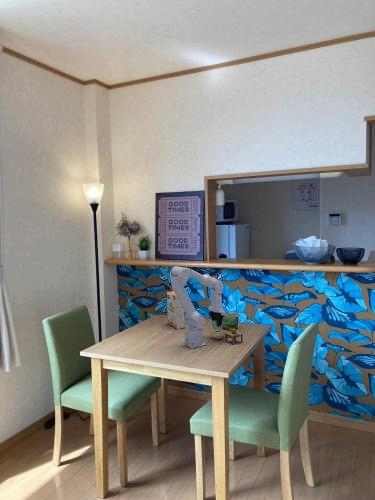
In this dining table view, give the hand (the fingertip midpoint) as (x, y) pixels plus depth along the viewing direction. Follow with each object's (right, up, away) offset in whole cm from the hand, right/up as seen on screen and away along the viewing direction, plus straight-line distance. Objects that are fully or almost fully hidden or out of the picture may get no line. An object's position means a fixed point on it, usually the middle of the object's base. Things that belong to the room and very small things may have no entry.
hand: (217, 325), depth 227 cm
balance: (+5, -7, +3) cm, 9 cm away
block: (0, -1, 0) cm, 2 cm away
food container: (+8, -6, +19) cm, 21 cm away
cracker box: (-23, -6, +29) cm, 38 cm away
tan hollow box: (+9, -8, -6) cm, 13 cm away
